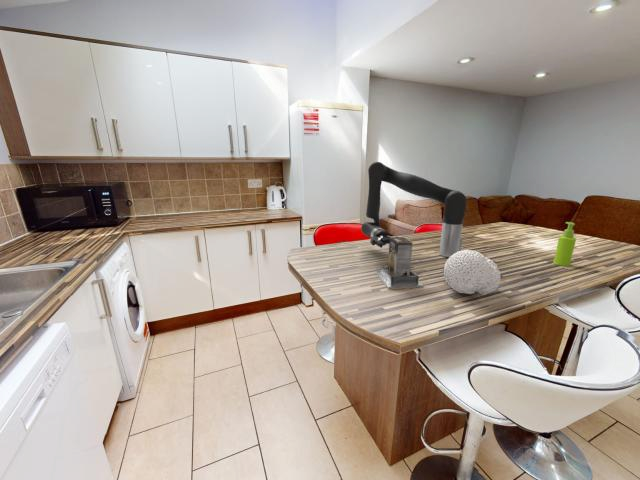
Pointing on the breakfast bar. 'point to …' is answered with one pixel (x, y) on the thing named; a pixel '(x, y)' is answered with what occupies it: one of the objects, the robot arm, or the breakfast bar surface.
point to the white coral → (471, 273)
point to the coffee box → (399, 256)
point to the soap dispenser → (565, 247)
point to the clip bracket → (399, 280)
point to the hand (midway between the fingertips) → (391, 245)
